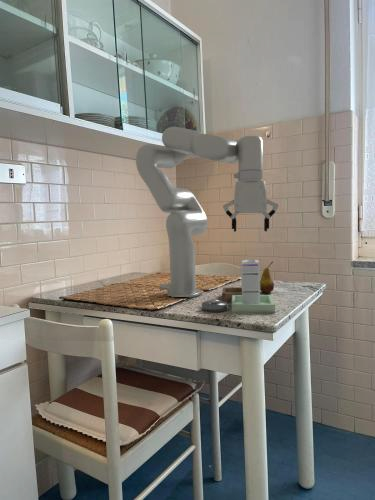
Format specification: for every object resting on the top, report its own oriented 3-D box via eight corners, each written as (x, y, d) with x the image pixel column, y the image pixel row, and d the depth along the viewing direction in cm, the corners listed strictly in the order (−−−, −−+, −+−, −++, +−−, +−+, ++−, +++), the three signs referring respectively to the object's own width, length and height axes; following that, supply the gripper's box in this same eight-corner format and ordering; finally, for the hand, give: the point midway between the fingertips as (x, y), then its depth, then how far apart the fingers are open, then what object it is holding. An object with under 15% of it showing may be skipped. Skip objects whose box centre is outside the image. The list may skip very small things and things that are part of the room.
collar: (222, 301, 130) (222, 293, 130) (223, 295, 140) (223, 287, 140) (251, 301, 129) (251, 293, 128) (250, 295, 139) (250, 287, 138)
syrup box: (260, 307, 119) (260, 261, 117) (241, 307, 120) (241, 262, 118) (259, 303, 124) (259, 259, 123) (241, 303, 125) (241, 259, 124)
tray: (231, 312, 116) (231, 304, 116) (232, 302, 129) (232, 295, 129) (274, 312, 115) (274, 304, 114) (271, 302, 127) (271, 295, 127)
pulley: (200, 312, 117) (200, 303, 117) (203, 306, 125) (203, 297, 125) (226, 312, 116) (226, 303, 116) (227, 306, 124) (227, 297, 124)
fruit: (268, 290, 146) (268, 259, 145) (276, 293, 141) (276, 261, 140) (255, 291, 145) (255, 260, 143) (263, 294, 139) (263, 262, 138)
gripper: (222, 176, 117) (222, 232, 119) (279, 175, 114) (279, 231, 116) (223, 178, 124) (223, 230, 126) (277, 177, 121) (276, 230, 123)
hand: (250, 231), depth 121 cm, fingers open, 9 cm apart
